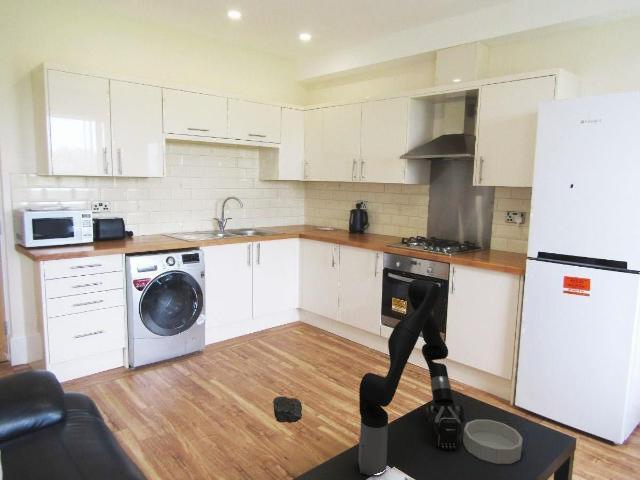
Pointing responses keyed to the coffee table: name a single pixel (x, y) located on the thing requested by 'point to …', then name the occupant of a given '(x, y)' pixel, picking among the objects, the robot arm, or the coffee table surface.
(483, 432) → the bowl
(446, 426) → the battery charger
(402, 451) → the coffee table surface
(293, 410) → the rock
